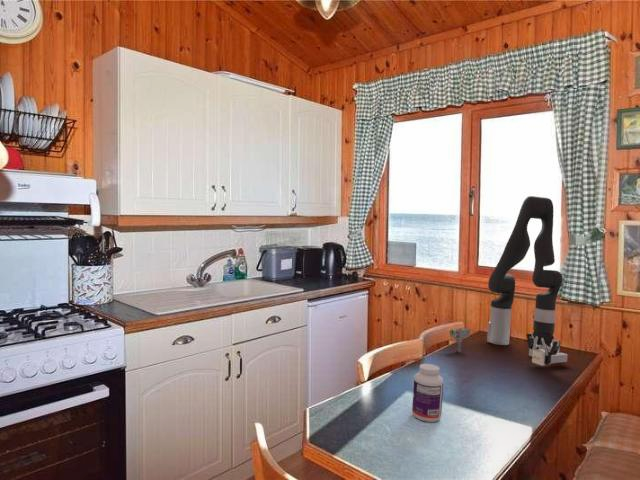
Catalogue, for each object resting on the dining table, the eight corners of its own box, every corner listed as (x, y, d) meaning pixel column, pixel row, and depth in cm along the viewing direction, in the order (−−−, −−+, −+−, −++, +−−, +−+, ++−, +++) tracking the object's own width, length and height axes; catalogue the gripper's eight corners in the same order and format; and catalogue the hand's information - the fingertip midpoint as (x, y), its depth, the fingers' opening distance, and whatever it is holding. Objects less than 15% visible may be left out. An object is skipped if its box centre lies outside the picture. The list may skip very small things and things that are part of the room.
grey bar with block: (559, 359, 183) (560, 347, 183) (569, 362, 179) (569, 350, 179) (529, 362, 176) (530, 349, 175) (539, 365, 172) (540, 353, 171)
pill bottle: (419, 408, 130) (422, 360, 129) (445, 417, 125) (449, 367, 124) (406, 416, 124) (409, 366, 123) (433, 426, 119) (436, 373, 118)
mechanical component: (447, 351, 191) (448, 328, 191) (465, 350, 195) (466, 327, 195) (451, 353, 188) (453, 330, 188) (470, 351, 193) (471, 329, 192)
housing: (539, 354, 195) (540, 339, 195) (558, 360, 187) (559, 345, 186) (528, 355, 192) (529, 340, 191) (547, 362, 184) (548, 346, 183)
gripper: (567, 323, 170) (564, 367, 170) (535, 315, 183) (532, 356, 183) (554, 324, 167) (551, 369, 167) (522, 316, 179) (519, 358, 180)
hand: (541, 362), depth 175 cm, fingers closed on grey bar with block, 4 cm apart
